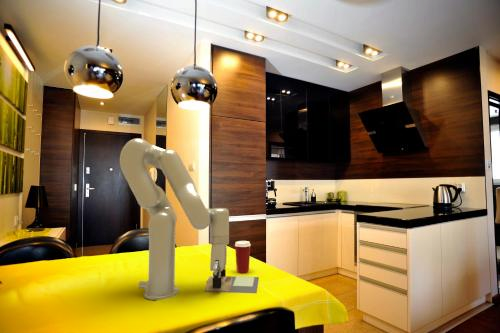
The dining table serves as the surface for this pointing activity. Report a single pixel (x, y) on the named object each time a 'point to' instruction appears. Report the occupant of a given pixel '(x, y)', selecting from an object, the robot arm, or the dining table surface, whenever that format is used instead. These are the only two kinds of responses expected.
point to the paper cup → (242, 256)
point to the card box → (225, 284)
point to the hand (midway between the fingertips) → (219, 283)
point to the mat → (242, 285)
